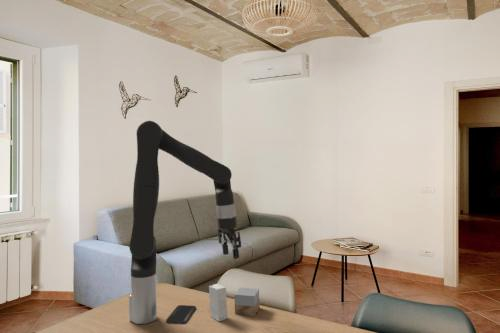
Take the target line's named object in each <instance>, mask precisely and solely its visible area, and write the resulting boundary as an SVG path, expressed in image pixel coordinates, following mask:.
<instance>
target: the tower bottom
mask: <svg viewBox="0 0 500 333" xmlns="http://www.w3.org/2000/svg"><path fill="white" fill-rule="evenodd" d="M260 304H261V303H260V299H259V300H258V302H257V303H256V305H255V306H243V305H235V304H234V314H235V315H242V316H243V315H244V316H251V315H253V316H252V317H255V316H256V314H257V313H258V311H259V310H260V308H259V307H260ZM258 309H259V310H258ZM256 312H257V313H256Z"/></svg>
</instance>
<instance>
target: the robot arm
mask: <svg viewBox="0 0 500 333" xmlns="http://www.w3.org/2000/svg"><path fill="white" fill-rule="evenodd" d="M136 145H137V146H136V148H137V149H136V150H137V155H136V156H137V158H136V163H135V164H136V166H135V170H134V179H133V180H134V181H133V190H132V191H133V192H132V193H133V194H132V198H133V199H132V212H133V214H132V215H133V217H132V218H133V221H132V229H131V236H130V240H129V245H128V247H129V252H130V254H131V265H130V288H131V289H130V290H131V291H130V292H131V293H130V295H129V297H128V303H129V304H128V309H129V310H128V312H129V314H128V315H129V318H128V319H129V322H132V323H134V324H137V325H145V324H150V323H152V322H154V321H156V320H157V319H158V310H157V308H158V307H157V306H158V305H157V303H158V300H157V298H158V297H157V296H158V295H157V239H156V237H155V234H154V230H155V228H154V227H155V226H154V224H155V217H156V212H157V207H158V202H159V193H160V192H159V191H160V170H159V161H158V156H159V150H160V151H162V152H165V153H167V154H168V155H171V156H172V157H173V158H176V160H178V161H180V162H182V163H184V164H185V165H186V166H188V167H190V168H192V169H193V170H195V171H196V172H199V173H201V174H204V175H205V176H207V177H209V178H210V179H211V180H213V185H214V186H213V187H214V190H215V191H214V192H215V204H216V211H215V212H216V220H217V226H218V228H217V237H218V238H217V239H218V243H219V244H220V245H221V247H222V254H223V255H224V256H226V255H229V252H230V251H229V245H230V246H231V249H232V257H233V260H236V259H239V258H240V251H239V249H240V248H242V241H241V234H240V233H241V232H240V231H236V230H235V228H237V226H238V220H237V212H236V206H235V200H234V193H233V190H232V184H231V183H232V182H231V179H232V176H233V175H232V170H231V169H230V168H229V167H228V166H226V165H224V164H223V163H220V162H218V161H216V160H214V159H212V158H211V157H210V156H208V155H206V154H204V153H203V152H201V151H200V150H197V149H196V148H194V147H192V146H191V145H190V146H189V145H188V144H185V143H184V142H181V141H180V140H178V139H176V138H174V137H173V136H171V135H170V134H169V133H167V132H166V131H165V130H164V129H162V126H160V125H159V124H158V123H156V122H155V121H153V120H145V121H143V122H141V123H140V124H139V125H138V127H137V129H136ZM228 244H229V245H228Z"/></svg>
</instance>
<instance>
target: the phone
mask: <svg viewBox="0 0 500 333" xmlns="http://www.w3.org/2000/svg"><path fill="white" fill-rule="evenodd" d="M196 308H197V306H195V305H186V304H185V305H183V304H180V305H177V306H176V307H175V308H174V310H173V311H172V312H171V313H170V314H169V315H168V317H167V318H166V319H165V323H166V324H174V323H175V324H180V325H181V324H182V325H184V324H187V322H188V321H189V319H190V317H191V316H192V315H193V313H195V312H196Z"/></svg>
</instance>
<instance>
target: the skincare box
mask: <svg viewBox="0 0 500 333" xmlns="http://www.w3.org/2000/svg"><path fill="white" fill-rule="evenodd" d="M208 296H209V297H208V298H209V315H210V317H211V318H212V319H214V320H216V321H217V322H221V321H225V320H227V319H228V304H227V287H226V286H224V285H221V284H219V283H215V284H211V285H209V286H208Z"/></svg>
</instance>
